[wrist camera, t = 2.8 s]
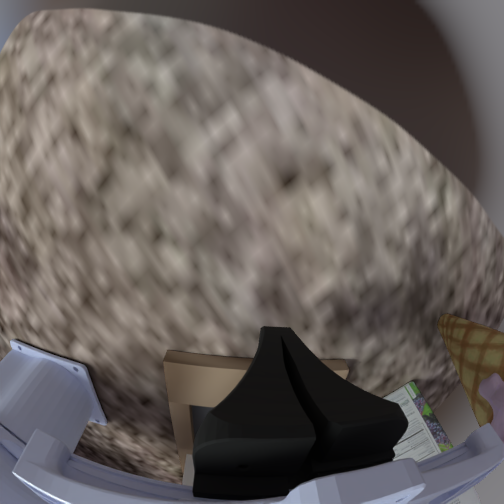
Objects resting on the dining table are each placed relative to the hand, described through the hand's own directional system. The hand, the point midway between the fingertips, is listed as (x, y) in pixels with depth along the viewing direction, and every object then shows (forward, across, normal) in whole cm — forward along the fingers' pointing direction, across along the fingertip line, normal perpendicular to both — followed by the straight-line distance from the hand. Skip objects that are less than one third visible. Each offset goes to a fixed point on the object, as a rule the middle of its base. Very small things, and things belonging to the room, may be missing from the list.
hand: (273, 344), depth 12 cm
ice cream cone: (+4, -14, +1) cm, 15 cm away
